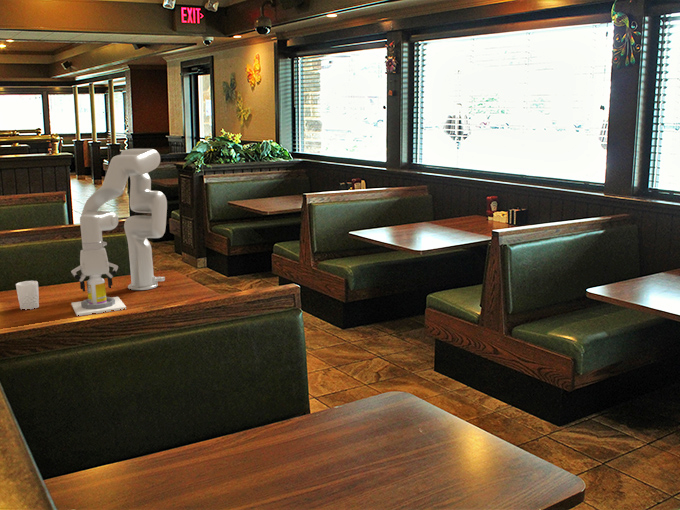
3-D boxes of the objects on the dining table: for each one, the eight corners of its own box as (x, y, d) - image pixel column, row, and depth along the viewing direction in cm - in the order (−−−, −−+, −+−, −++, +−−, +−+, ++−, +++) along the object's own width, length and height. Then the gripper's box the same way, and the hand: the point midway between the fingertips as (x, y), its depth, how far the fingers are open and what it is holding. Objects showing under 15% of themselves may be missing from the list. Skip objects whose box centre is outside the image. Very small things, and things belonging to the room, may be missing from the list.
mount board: (118, 298, 273) (117, 293, 272) (126, 309, 257) (125, 303, 257) (71, 305, 265) (71, 299, 264) (76, 316, 249) (76, 309, 249)
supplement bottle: (109, 302, 264) (106, 270, 261) (102, 306, 257) (99, 274, 255) (93, 302, 264) (90, 270, 262) (85, 306, 258) (83, 274, 255)
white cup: (23, 305, 266) (20, 281, 264) (43, 304, 266) (40, 280, 264) (15, 310, 258) (12, 285, 256) (36, 310, 259) (33, 285, 257)
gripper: (114, 242, 263) (118, 284, 267) (67, 246, 255) (72, 290, 259) (117, 245, 257) (121, 288, 260) (69, 250, 249) (74, 294, 252)
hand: (96, 289), depth 259 cm, fingers open, 9 cm apart
